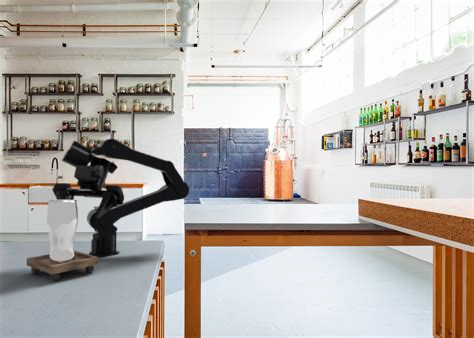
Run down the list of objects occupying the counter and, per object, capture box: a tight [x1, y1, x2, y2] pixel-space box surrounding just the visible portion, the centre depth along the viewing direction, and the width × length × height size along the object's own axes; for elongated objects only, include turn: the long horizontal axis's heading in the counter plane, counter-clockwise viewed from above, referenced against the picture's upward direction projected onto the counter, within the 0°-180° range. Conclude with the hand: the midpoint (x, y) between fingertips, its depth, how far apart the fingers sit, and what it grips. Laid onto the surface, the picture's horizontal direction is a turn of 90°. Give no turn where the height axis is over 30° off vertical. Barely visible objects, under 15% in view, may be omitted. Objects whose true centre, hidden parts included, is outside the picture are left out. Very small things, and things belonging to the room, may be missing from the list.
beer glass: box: [46, 199, 79, 264], centre depth 99 cm, size 7×7×15 cm
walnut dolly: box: [26, 250, 99, 282], centre depth 99 cm, size 12×12×4 cm
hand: (79, 217), depth 106 cm, fingers open, 9 cm apart
